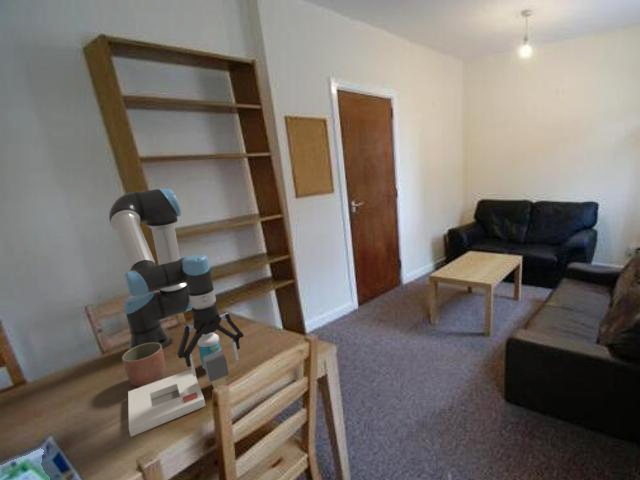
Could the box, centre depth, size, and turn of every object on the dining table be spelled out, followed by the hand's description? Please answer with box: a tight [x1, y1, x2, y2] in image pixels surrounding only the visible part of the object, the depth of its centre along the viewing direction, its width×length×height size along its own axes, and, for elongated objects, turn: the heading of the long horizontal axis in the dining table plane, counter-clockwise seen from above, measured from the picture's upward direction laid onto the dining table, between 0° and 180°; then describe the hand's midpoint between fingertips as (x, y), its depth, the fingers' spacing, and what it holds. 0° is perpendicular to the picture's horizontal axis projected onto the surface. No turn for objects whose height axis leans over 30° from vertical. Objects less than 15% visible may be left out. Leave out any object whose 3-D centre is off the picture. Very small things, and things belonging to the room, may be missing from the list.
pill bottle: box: [197, 332, 222, 370], centre depth 123 cm, size 8×7×14 cm
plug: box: [203, 350, 230, 389], centre depth 111 cm, size 6×6×10 cm
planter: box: [121, 342, 166, 388], centre depth 119 cm, size 12×12×11 cm
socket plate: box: [127, 369, 207, 438], centre depth 106 cm, size 20×20×3 cm
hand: (216, 366), depth 110 cm, fingers open, 13 cm apart
